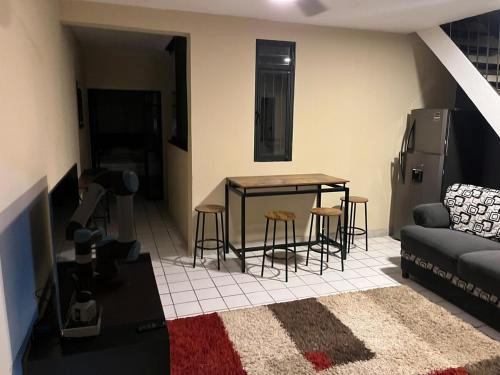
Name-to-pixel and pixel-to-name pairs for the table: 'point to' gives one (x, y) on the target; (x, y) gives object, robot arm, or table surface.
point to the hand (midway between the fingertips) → (85, 306)
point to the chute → (83, 328)
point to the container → (83, 307)
